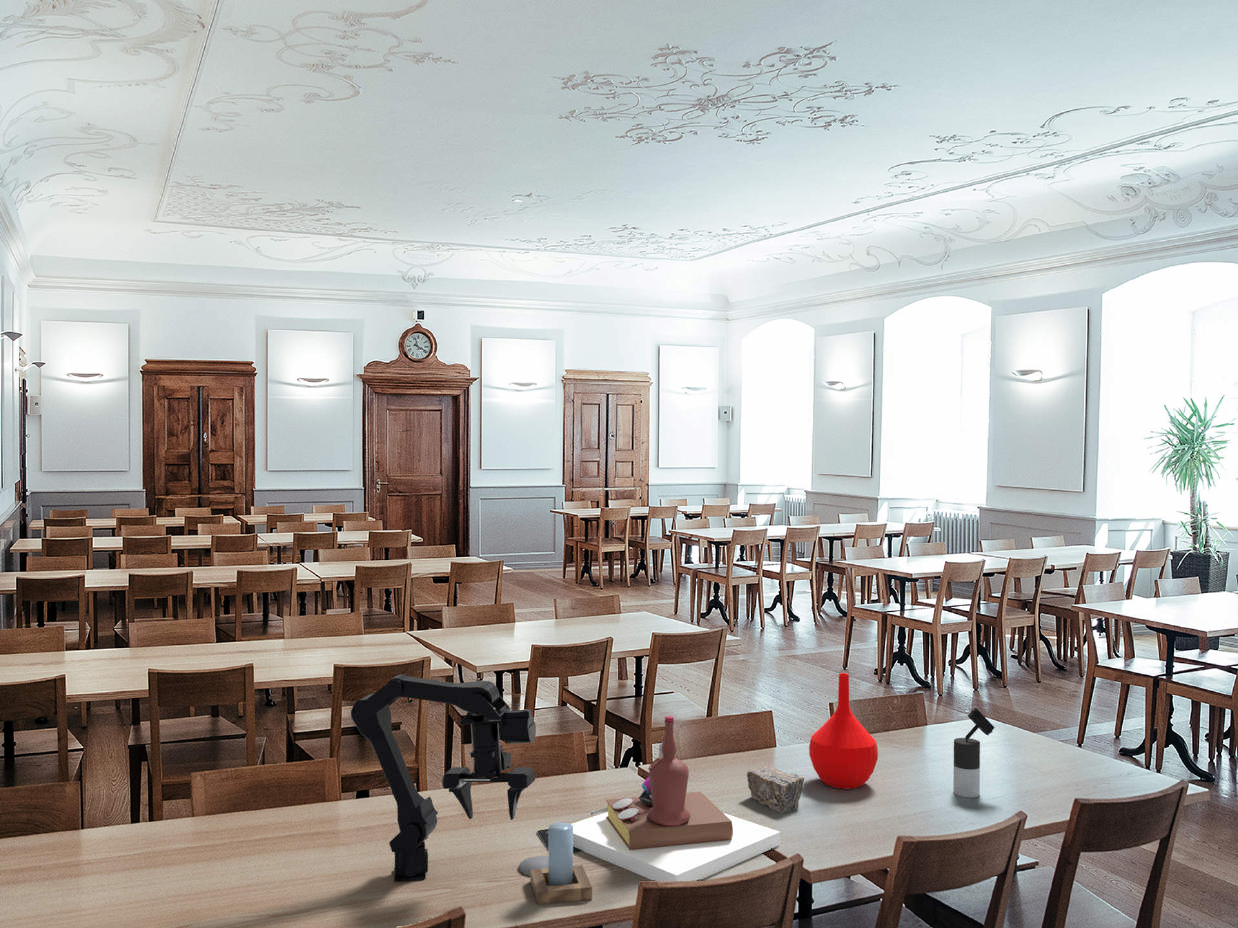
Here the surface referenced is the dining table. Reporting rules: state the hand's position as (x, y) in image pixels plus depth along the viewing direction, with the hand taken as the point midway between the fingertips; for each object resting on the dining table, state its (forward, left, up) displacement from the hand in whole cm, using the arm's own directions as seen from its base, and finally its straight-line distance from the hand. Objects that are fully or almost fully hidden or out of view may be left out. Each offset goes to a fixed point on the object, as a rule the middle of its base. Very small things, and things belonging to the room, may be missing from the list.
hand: (491, 818), depth 212 cm
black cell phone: (+17, +19, -14) cm, 29 cm away
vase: (+99, +45, -13) cm, 110 cm away
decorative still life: (+41, +14, -14) cm, 46 cm away
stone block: (+76, +34, -13) cm, 84 cm away
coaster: (+11, +5, -13) cm, 18 cm away
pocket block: (+13, -7, -13) cm, 20 cm away
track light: (+130, +31, -13) cm, 135 cm away
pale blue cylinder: (+13, -7, -13) cm, 20 cm away
